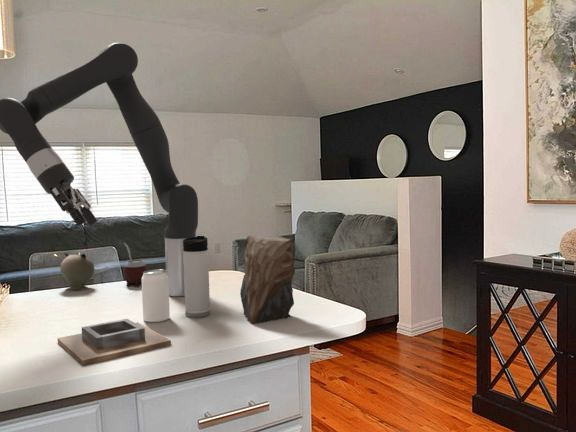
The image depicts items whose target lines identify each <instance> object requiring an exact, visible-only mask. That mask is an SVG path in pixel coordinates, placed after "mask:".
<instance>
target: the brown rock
mask: <svg viewBox="0 0 576 432" xmlns="http://www.w3.org/2000/svg"><path fill="white" fill-rule="evenodd" d="M246 240H247V243H246V248H245V252H244V255H243V260H242V261H243V270H244V271H243V272H244V274H243V278H242V283H241V287H240V294H239V295H240V300H241V305H242V309H243V315H244V317H245V318H246V321H247V322H249V324H250V325H255V324H261V323H267V321H268V322H272V321H271V320H273V321H277V320H284V319H283V318H285V319H288V317H289V318H291V317H290V311H291V309H292V307H293V306H294V304H295V301H294V294H293V291H294V290H293V286H292V283H293V279H294V275H295V274H296V270H295V266H294V264H295V261H294V259H295V258H294V254H293V242H294V239H293V238H292V237H290V238H287V237H284V236H282V235H281V236H280V235H277V236H276V235H275V236H271V237H270V236H258V235H250V234H249V235H247V237H246Z"/></svg>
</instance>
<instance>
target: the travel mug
mask: <svg viewBox="0 0 576 432" xmlns="http://www.w3.org/2000/svg"><path fill="white" fill-rule="evenodd" d="M208 243H209V242H208V238H207V237H205V235H196V237H192V238H187V239H184V240H183V247H184V248H183V262H184V289H185V296H184V311H185V312H184V313H185V316H186V317H187V318H194V319H195V318H196V319H197V318H199V319H200V318H204V317H207V316H209V315H210V314H211V303H210V301H211V300H210V299H211V298H210V276H209V275H210V272H209V267H210V266H209V265H210V263H209V248H208Z"/></svg>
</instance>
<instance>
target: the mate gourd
mask: <svg viewBox="0 0 576 432" xmlns="http://www.w3.org/2000/svg"><path fill="white" fill-rule="evenodd" d="M123 245H124V246H125V247H126V251H127V252H128V257H129V258H128V259H129V260H127V261H126V263H125V264H124V278H125V281H126V284H125V285H126V287H132V286H134V287H135V288H139V286H142V277H143V272H145V271H148V269H147V265H146V262H145V261H144V260H143V259H132V254H131V249H130V247H129V245H128V244H127V243H126V242H124V241H123Z"/></svg>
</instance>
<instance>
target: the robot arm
mask: <svg viewBox="0 0 576 432" xmlns="http://www.w3.org/2000/svg"><path fill="white" fill-rule="evenodd" d="M138 63H139V58H138V54H137V52H136V51H135V49H134V48H132V46H130V44H127V43H123V42H113V43H111V44H109V45H107V46H105V47H104V48H103V49H102V50H101V51H100V52H99V53H98V55H97V56H95V58H93V59H91V60H90V61H87V62H86V63H84V64H82V65H81V66H79V67H76V68H75V69H72V70H70V71H68V72H66V73H63V74H60V75H58V76H56V77H53V78H52V79H50V80H47V81H46V82H44V83H41V84H39V85H37V86H35V87H33V88H32V89H30V90H29V91H28V93H27V95H26V97H25V98H23V100H22V101H19V100H18V99H15V98H12V97H3V98H0V131H1V132H2V133H5V134H7V135H8V136H9V137H10V138H11V140H12V142H13V144H14V147H15V149H16V150H17V152H18V154H19V155H20V156H21V158H22V159H23V161H25V163H26V165H27V167H28V168H29V171H30V172H31V173H32V175H33V176H34V177H35V179H36V180H37V182H38V183H39V184H40V186H41V187H42V189H43V190H44V192H45V193H46V194H49V195H51V196H52V197H53V199H54V201H55V202H56V203H57V205H58V206H59V208H60V209H61V211H62V212H65V213H67V214H68V215H70V217H71V219H72V220H73V221H74V222H75V224H76V225H77V226H79V227H80V226H83V224H85V223H87V224H88V225H89V226H94V225H95V224H96V223H98V219H97V217H96V216H95V215H94V212H92V211H91V208H92V206H91V204H90V203H89V201H88V200H87V199H86V198H85V196H84V195H83V194H82V193H81V191H80V190H79V188H73V187H72V186H71V184H72V183H73V182H74V180H75V176H74V175H73V173H72V172H71V171H70V169H69V168H68V166H67V165H66V164H65V162H64V161H63V159H62V158H61V157H60V155H59V154H58V153H57V152H56V151H55V150H54V148H53V147H52V146H51V145H50V143H49V142H48V141H47V139H46V138H45V137H44V136H43V134H42V133H41V131H40V130H39V128H38V126H37V125H36V124H37V123H39V122H40V121H41V120H43V118H45V117H46V116H47V115H49V114H52V113H53V112H55V111H57V110H59V109H61V108H62V107H64V106H67V105H68V104H70V103H72V102H74V101H75V100H77V99H78V98H80V97H81V96H83V95H85V94H86V93H88V92H90V91H91V90H93V89H95V88H97V87H98V86H101V85H102V84H105V83H106V85H107V87H108V89H109V90H110V91H111V94H112V96H113V98H114V99H115V101H116V103H117V105H118V108H119V110H120V111H119V112H120V113H121V116H122V118H123V120H124V122H125V125H126V126H127V129H128V131H129V134H130V136H131V138H132V141H133V143H134V146H135V147H136V149H137V151H138V153H139V155H140V157H141V160H142V161H143V164H144V165H145V168H146V170H147V172H148V173H149V176H150V178H151V180H152V183H153V187H154V191H155V193H156V196H157V198H158V202H159V204H160V207H161V208H162V209H163V211H165V212H167V214H168V225H167V226H166V227H165V228H164V248H165V249H164V251H165V255H164V256H165V271H166V274H167V276H168V283H169V297H171V296H172V297H185V289H184V262H183V248H184V247H183V240H184V239H187V238H192V237H197V234H196V232H197V229H198V226H199V200H198V198H199V197H198V195H197V192H196V190H195V188H193V186H191V185H189V184H187V183H186V184H185V183H180V181H179V179H178V178H177V175H176V173H175V171H174V169H173V166H172V161H171V155H170V154H171V153H170V145H169V144H170V143H169V140H168V137H167V134H166V132H165V130H164V128H163V125H162V123H161V119H160V118H159V117H158V115H157V113H156V112H155V111H154V109H153V108H152V107H151V105H150V104H149V103H148V102H147V101H146V99H145V98H144V97H143V95H142V93H141V92H140V90H139V88H138V85H137V83H136V80H135V79H134V76H133V74H134V73H135V71H136V69H138V68H137V67H138V65H139V64H138Z"/></svg>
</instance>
